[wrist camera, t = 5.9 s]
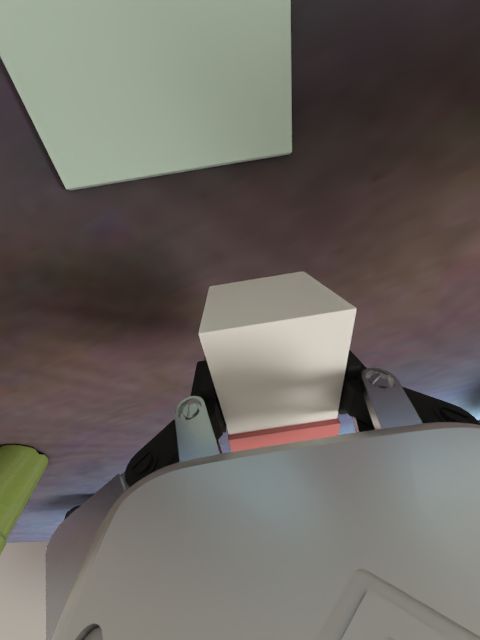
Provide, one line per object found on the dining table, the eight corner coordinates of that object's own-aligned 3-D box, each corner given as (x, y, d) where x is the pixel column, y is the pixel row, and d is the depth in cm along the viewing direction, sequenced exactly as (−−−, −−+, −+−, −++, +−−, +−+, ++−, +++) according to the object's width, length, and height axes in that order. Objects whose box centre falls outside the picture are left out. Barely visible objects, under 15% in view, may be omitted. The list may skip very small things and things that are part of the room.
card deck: (304, 271, 11) (362, 311, 6) (301, 376, 15) (335, 447, 10) (208, 286, 11) (196, 337, 6) (232, 387, 15) (235, 462, 10)
